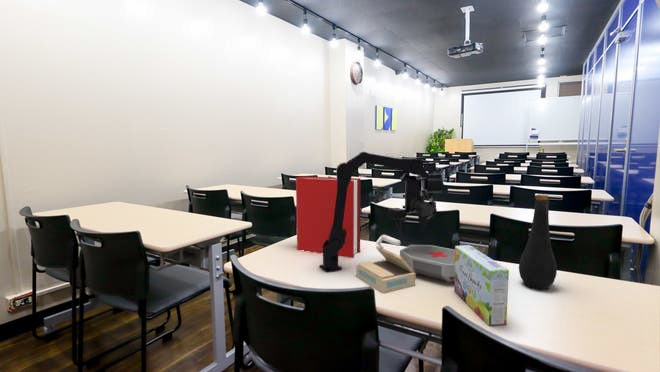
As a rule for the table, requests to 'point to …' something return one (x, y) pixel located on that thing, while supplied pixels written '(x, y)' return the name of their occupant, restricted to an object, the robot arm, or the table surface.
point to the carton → (385, 275)
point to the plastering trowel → (391, 256)
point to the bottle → (539, 250)
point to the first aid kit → (431, 261)
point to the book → (326, 213)
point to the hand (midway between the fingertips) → (412, 234)
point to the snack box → (482, 284)
